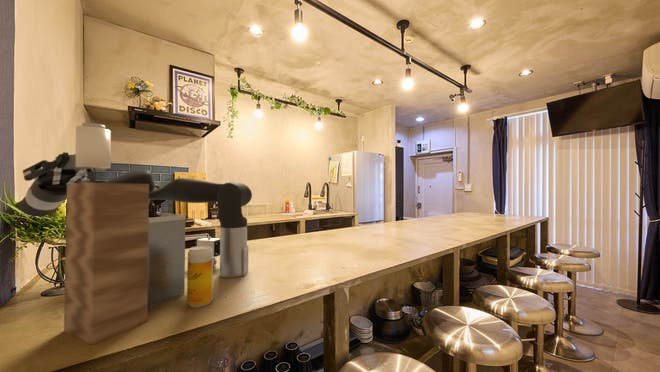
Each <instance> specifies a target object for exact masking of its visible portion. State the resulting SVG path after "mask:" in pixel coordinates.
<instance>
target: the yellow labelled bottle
mask: <svg viewBox="0 0 660 372" xmlns="http://www.w3.org/2000/svg"><path fill="white" fill-rule="evenodd" d="M213 274H214V266H213V250H212V248H211V246H195V247H193V246H192V247H190V248H189V249H188V252H187V279H186V280H187V282H186V284H187V285H186V287H187V289H186V290H187V293H186V299H187V302H186V303H187V305H188V306H189V307H190V308H195V309H196V308H203V307H205V306H208V305H209V304H210V303H211V302H212V300H213V295H214V294H213V293H214V292H213V289H214V286H213V284H214V281H213V279H214V277H213Z"/></svg>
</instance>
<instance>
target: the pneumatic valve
mask: <svg viewBox="0 0 660 372" xmlns="http://www.w3.org/2000/svg"><path fill="white" fill-rule="evenodd" d="M195 246H211V248H212V250H213V267H215V266H216V265H217V262H218V261H217V257H220V237H219V238H218V237H217V238H215V237H211V236H210V235H209V236H208V237H202V238H197V239H195V242H193V243H192V247H195Z"/></svg>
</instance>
